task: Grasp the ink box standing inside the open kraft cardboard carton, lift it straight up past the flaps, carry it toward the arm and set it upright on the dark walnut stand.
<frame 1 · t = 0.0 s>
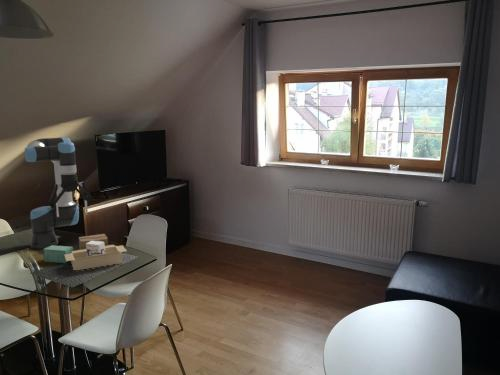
hand: (72, 214, 212), 28 cm above the table, fingers open, 13 cm apart
ink box: (96, 263, 221), resting in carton
stand: (94, 254, 235), on the table
box: (59, 261, 227), on the table
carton: (96, 263, 221), on the table
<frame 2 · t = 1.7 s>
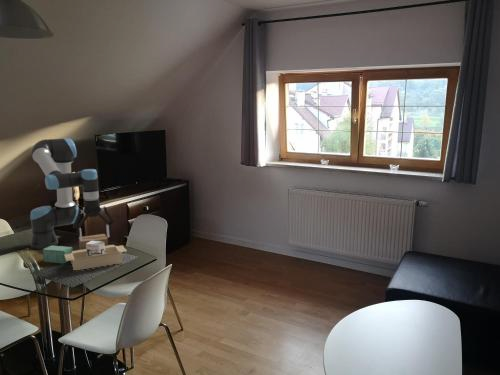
hand: (94, 238, 219), 14 cm above the table, fingers open, 13 cm apart
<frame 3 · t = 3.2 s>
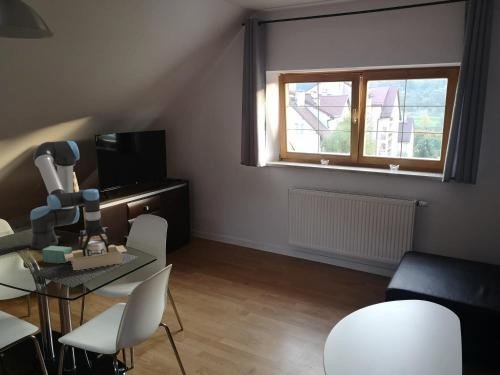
hand: (96, 259, 221), 2 cm above the table, fingers closed on ink box, 9 cm apart
ink box: (96, 263, 221), resting in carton, touching gripper
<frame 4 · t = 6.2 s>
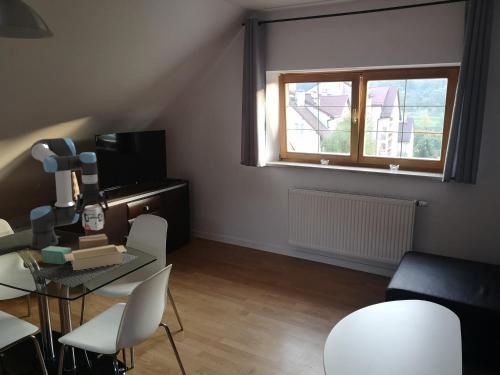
hand: (93, 224, 217), 21 cm above the table, fingers closed on ink box, 9 cm apart
ink box: (93, 229, 218), point 19 cm above the table, touching gripper
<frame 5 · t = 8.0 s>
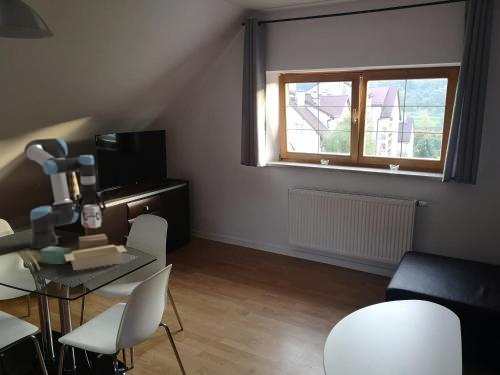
hand: (91, 223, 232), 18 cm above the table, fingers closed on ink box, 9 cm apart
ink box: (92, 226, 232), point 16 cm above the table, touching gripper
when the fingers open (13 cm above the table, at t = 9.3 s): ink box drops 1 cm, resting on stand.
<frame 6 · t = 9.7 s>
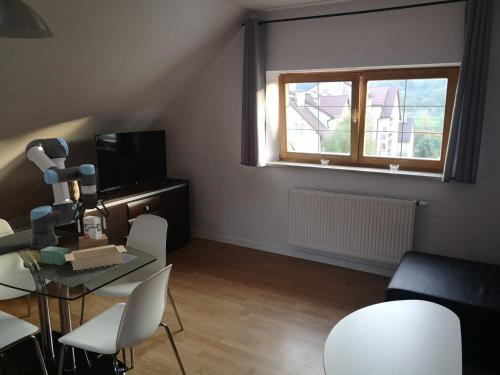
hand: (92, 230, 233), 14 cm above the table, fingers open, 13 cm apart
ink box: (93, 237, 234), point 10 cm above the table, touching stand
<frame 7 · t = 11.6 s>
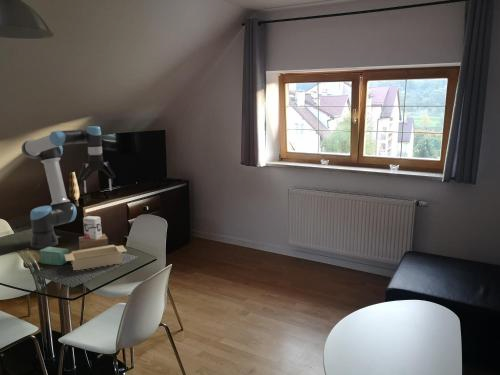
hand: (98, 191, 237), 35 cm above the table, fingers open, 13 cm apart
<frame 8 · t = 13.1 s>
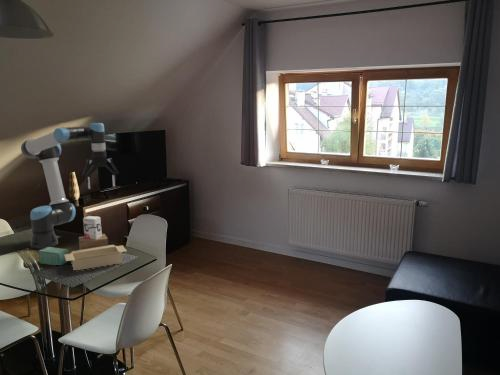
hand: (101, 187, 239), 37 cm above the table, fingers open, 13 cm apart
at the end: ink box inside the target area on the stand (0.4 cm from its centre), point 9.8 cm above the stand's base; ink box tilted 0°; the gripper is holding nothing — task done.
